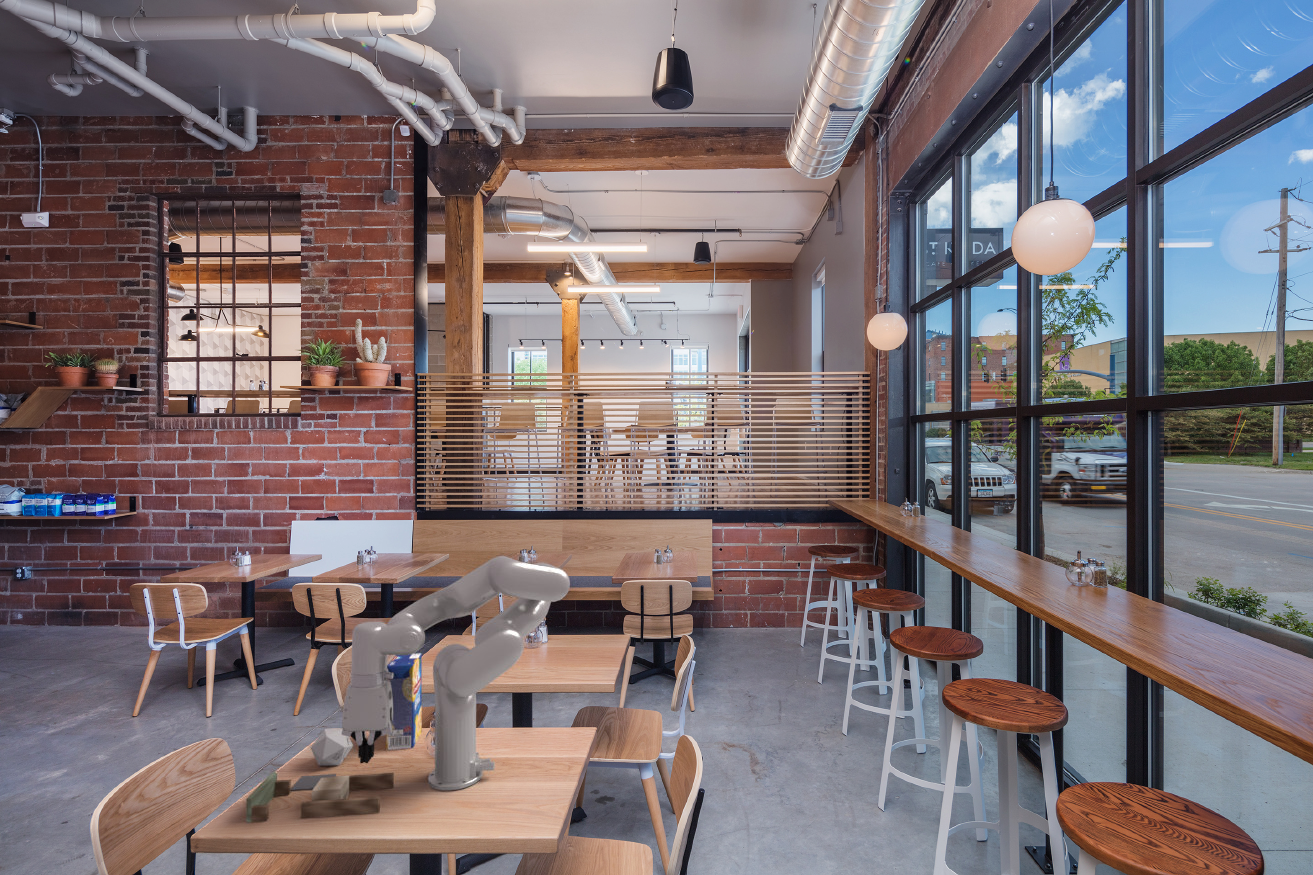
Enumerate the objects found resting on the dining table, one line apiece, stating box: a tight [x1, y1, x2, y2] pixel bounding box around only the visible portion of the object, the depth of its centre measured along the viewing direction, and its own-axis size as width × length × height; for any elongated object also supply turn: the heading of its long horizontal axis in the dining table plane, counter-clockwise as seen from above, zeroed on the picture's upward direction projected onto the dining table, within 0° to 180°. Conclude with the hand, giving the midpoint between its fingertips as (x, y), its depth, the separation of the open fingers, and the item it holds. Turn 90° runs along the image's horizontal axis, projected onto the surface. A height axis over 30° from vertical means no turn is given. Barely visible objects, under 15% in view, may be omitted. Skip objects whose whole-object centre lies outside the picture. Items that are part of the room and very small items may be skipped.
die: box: [310, 728, 354, 767], centre depth 167 cm, size 8×9×10 cm
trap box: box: [245, 771, 395, 823], centre depth 147 cm, size 27×12×5 cm, turn 97°
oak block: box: [311, 775, 350, 801], centre depth 147 cm, size 6×6×4 cm
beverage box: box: [385, 652, 423, 751], centre depth 180 cm, size 7×11×22 cm, turn 8°
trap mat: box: [291, 773, 337, 792], centre depth 156 cm, size 8×7×1 cm
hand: (366, 760), depth 148 cm, fingers closed
